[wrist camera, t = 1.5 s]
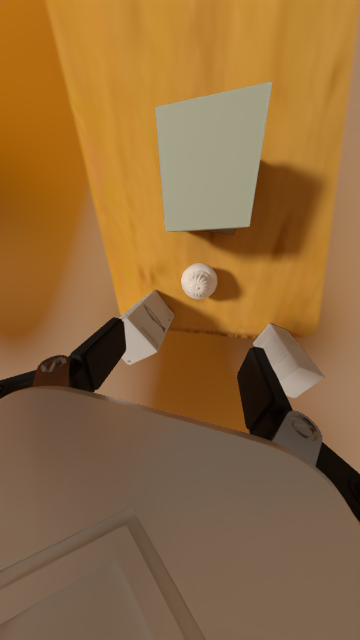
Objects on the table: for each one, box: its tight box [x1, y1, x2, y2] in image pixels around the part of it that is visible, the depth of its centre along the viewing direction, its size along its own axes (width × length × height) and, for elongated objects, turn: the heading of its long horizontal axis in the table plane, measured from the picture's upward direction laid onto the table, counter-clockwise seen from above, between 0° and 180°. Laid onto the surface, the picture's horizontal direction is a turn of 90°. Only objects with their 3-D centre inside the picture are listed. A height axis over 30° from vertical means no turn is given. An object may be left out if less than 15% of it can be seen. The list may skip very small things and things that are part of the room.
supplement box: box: [119, 290, 175, 365], centre depth 29 cm, size 7×7×13 cm
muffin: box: [181, 263, 218, 299], centre depth 25 cm, size 6×6×7 cm
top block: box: [155, 81, 272, 232], centre depth 16 cm, size 9×9×5 cm
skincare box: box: [253, 323, 325, 398], centre depth 27 cm, size 6×4×12 cm
